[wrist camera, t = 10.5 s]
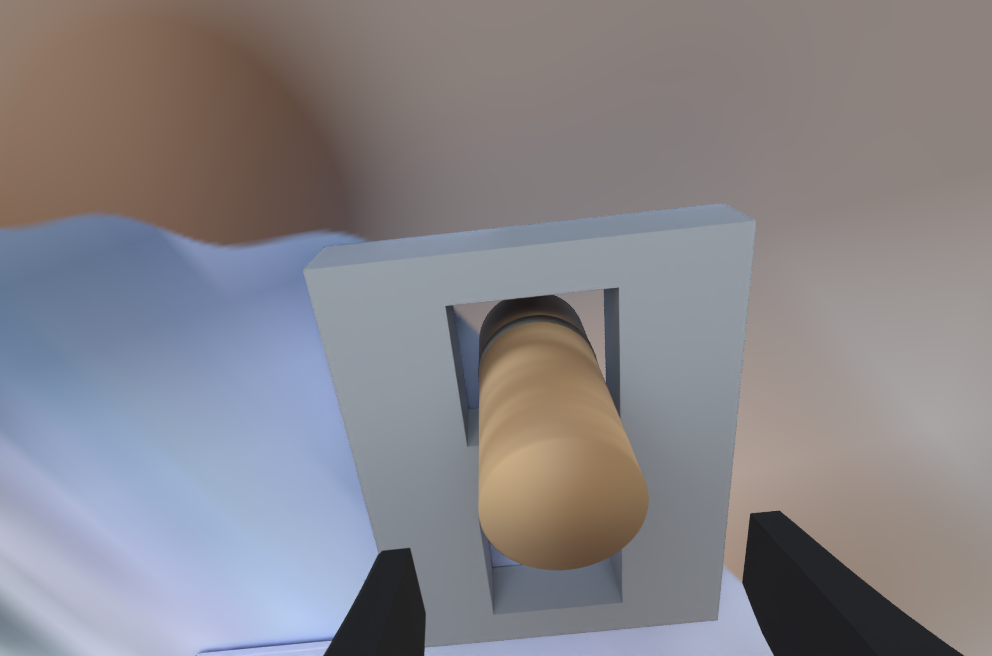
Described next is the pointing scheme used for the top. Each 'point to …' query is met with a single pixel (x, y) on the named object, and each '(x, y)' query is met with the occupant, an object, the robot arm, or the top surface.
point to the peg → (551, 442)
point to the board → (629, 378)
